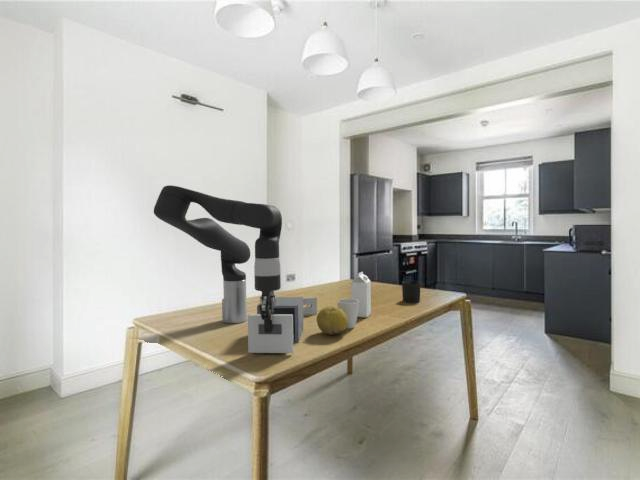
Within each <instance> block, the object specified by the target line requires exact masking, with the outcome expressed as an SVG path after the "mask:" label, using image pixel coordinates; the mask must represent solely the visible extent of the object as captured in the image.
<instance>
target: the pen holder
mask: <svg viewBox="0 0 640 480" xmlns="http://www.w3.org/2000/svg"><path fill="white" fill-rule="evenodd" d="M401 291H402V301H403V302H404V303H419V302H420V301H421V281H419V280H411V281H408V282H407V281H404V280H403V281H401Z"/></svg>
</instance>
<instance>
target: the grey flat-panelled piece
mask: <svg viewBox="0 0 640 480" xmlns="http://www.w3.org/2000/svg"><path fill="white" fill-rule="evenodd" d="M273 316H274V317H273V319H272V322H273V331H272V332H271V333H265V332H264V320H262V318H261V314H257V313H256V314H255V313H254V314H253V313H251V314H247V350H248V351H247V352H248V353H252V354H253V353H255V354H259V353H260V354H261V353H262V354H293V353H294V342H293V339H294V336H295V335H294V334H293V314H274V315H273Z"/></svg>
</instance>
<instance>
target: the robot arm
mask: <svg viewBox="0 0 640 480" xmlns="http://www.w3.org/2000/svg"><path fill="white" fill-rule="evenodd" d="M191 203H194V204H198V205H199V206H201V208H203V210H205V211H206V212H207V213H208V214H209V215H210V216H211V217H212V218H213V219H212V218H209V217H200V218H195V219H190V220H189V219H187V218H186V216H187V213H188V210H189V208H190V206H191ZM153 214H154V216H155V217H156V218H158V219H159V220H161V221H163V222H164V223H166V224H168V225H170V226H172V227H174V228H176V229H177V230H180V231H182V232H183V233H185V234H187V235H188V236H190V237H191V238H192V239H194V240H195V241H197V242H198V243H200V244H202V245H203V246H205V247H207V248H209V249H212V250H215V251H219V252H220V263H221V264H220V265H221V274H222V277H223V278H222V280H223V298H222V300H221V305H222V306H221V308H222V309H221V310H222V311H221V312H222V313H221V314H222V316H221V317H222V318H221V321H222V323H227V324H240V323H244V322H246V321H248V314H247V312H248V311H247V275H246V272H245V271H242V270H240V269H239V268H237V267H236V264H237V265H241V264H245V263H247V262H248V261H249V260H250V258H251V249H250V247H249V245H248V244H247V243H246V242H245V241H243V240H241V239H240V238H238V237H236V236H235V235H233V234H231V233H230V232H229V231H228V230H226V229H225V228H223V227H222V226H221V225H220V224H219V223H217V222H216V221H219V222H220V223H225V224H231V225H239V226H246V227H250V228H254V229H259V235H258V236H259V237H258V238H256V240H255V242H254V257H255V258H254V265H253V266H254V268H253V269H254V270H253V271H254V290H255V291H257V292H261V296H259V303H261V304H260V305H259V309H260V314H261V318H262V320H264V332H265V333H271V332H272V331H273V322H272V319H273V317H274V316H273V315H274V314H275V303H276V297H277V296H276V294H275V291H279V290H280V289H281V287H282V286H281V284H282V283H281V279H282V278H281V262H280V239H281V235H282V234H281V233H282V227H283V217H282V213H281V211H280V209H279V208H278V207H276V206H275V205H271V204H270V205H269V204H265V203H254V202H246V201H240V200H233V199H227V198H221V197H216V196H213V195H209V194H207V193H204V192H200V191H195V190H192V189H188V188H185V187H182V186H178V185H165V186H163V187H162V188H161V191H160V192H159V195H158V198H157V199H156V202H155V205H154V207H153ZM214 219H215V220H216V221H215V220H214Z"/></svg>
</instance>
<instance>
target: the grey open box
mask: <svg viewBox="0 0 640 480" xmlns="http://www.w3.org/2000/svg"><path fill="white" fill-rule="evenodd" d="M303 298H304V297H303V296H276V303H275V314H293V334H294V335H295V336H294V339H293V343H299V342H300V340H301V337H302V334H303V331H304V316H303V307H304V305H303ZM260 304H261V303H260V302H259V303H258V304H257V306H256V314H260V309H259V305H260Z"/></svg>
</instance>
